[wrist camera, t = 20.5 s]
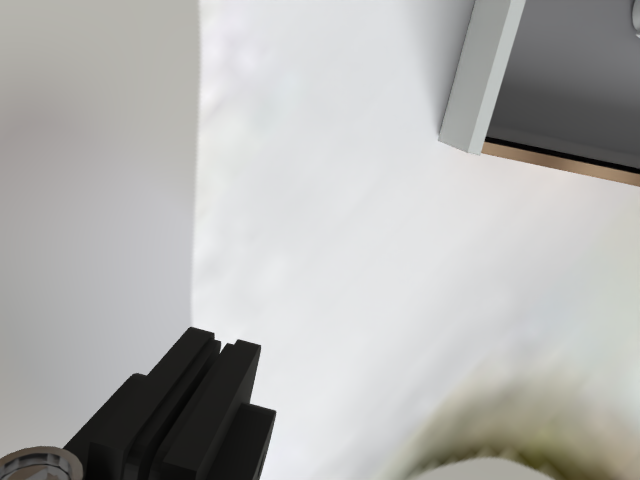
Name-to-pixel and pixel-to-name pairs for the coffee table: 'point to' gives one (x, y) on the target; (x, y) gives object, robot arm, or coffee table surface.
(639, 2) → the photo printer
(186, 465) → the robot arm
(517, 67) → the sliding tray
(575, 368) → the coffee table surface
